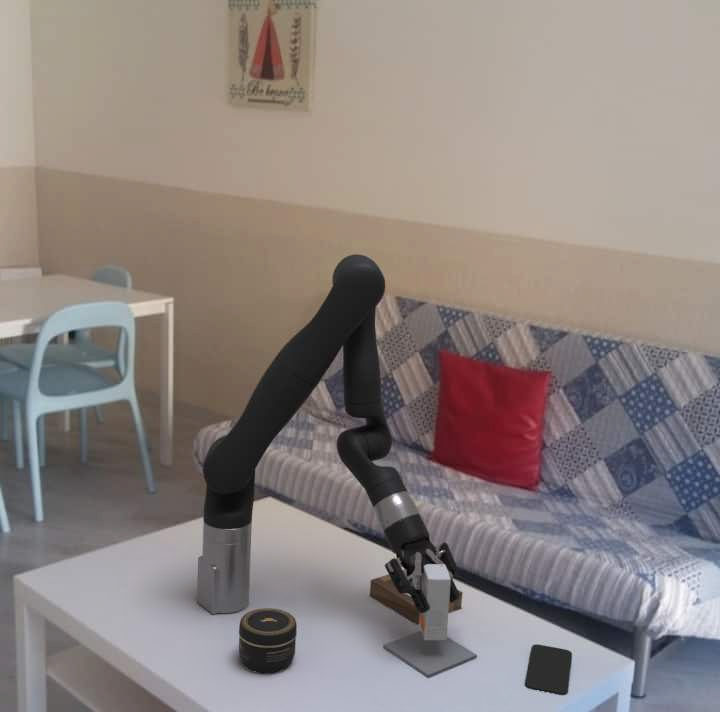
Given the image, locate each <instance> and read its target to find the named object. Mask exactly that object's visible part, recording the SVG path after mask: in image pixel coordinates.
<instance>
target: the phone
mask: <svg viewBox="0 0 720 712" xmlns="http://www.w3.org/2000/svg"><path fill="white" fill-rule="evenodd" d="M529 653H530V654H529V658H528V665H527V670H526V675H525V680H524V687H526V689H529V690H532V689H533V690H534V691H537V690H539V692H542V691H544V692H543V693H547V692H549V693H548V694H552V693H554V694H553V695H557V694H558V696H566V695H567V694H568V692H569V685H570V684H569V683H570V675H571V668H572V657H573V652H572V651H571V650H569V649H565V648H559V647H553V646H550V645H543V644H532V646H531V649H530V652H529Z"/></svg>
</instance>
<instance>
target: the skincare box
mask: <svg viewBox="0 0 720 712" xmlns="http://www.w3.org/2000/svg"><path fill="white" fill-rule="evenodd" d="M450 584H451V579H450V576H449V572H448V570H447V568H446V565H444V564H427V565H424V572H423V575H422V591H423V593H424V596H425V598H426V600H427V602H428V604H429V606H430V609H429V610H428V611H426V612H425V613H420V619H419V624H418V625H419V626H420V629H421V630H420V631H422V634H423V638H424V640H446V639H447V637H448V623H449V613H448V611H449V598H450Z"/></svg>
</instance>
